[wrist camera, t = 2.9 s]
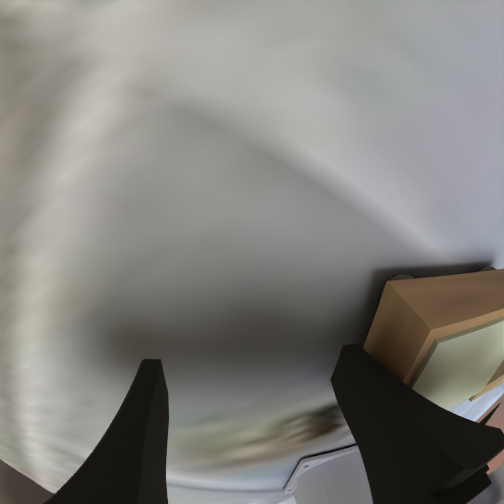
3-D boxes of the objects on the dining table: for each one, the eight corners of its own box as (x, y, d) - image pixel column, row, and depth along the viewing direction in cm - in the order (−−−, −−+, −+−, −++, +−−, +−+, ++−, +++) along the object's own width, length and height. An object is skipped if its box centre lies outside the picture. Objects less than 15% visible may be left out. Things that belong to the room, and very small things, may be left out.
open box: (449, 353, 15) (481, 394, 12) (333, 385, 14) (361, 447, 10) (493, 260, 12) (540, 297, 9) (373, 267, 11) (434, 333, 7)
